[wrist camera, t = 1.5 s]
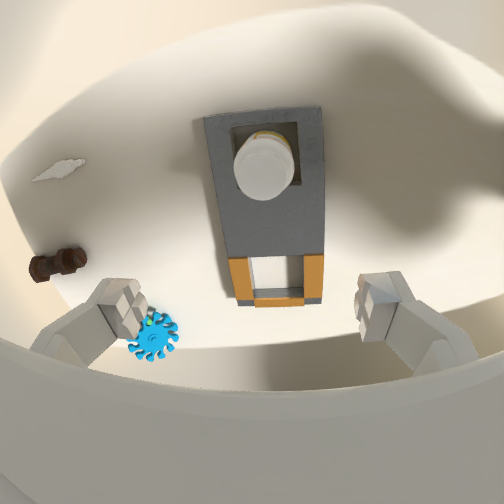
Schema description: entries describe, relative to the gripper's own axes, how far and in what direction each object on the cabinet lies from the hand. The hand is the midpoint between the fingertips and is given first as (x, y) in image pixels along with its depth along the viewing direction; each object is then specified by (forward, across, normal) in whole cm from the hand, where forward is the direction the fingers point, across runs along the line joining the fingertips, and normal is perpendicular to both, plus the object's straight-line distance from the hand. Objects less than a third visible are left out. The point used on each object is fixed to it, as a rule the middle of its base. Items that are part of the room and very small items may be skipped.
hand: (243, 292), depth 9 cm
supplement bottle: (+23, 0, 0) cm, 23 cm away
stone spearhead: (+24, +32, -2) cm, 40 cm away
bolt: (+24, +38, +14) cm, 47 cm away
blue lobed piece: (+24, +21, +28) cm, 42 cm away
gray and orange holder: (+23, 0, +8) cm, 24 cm away
